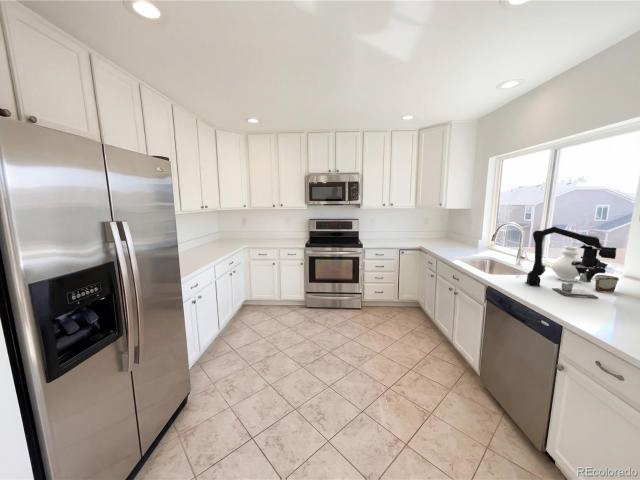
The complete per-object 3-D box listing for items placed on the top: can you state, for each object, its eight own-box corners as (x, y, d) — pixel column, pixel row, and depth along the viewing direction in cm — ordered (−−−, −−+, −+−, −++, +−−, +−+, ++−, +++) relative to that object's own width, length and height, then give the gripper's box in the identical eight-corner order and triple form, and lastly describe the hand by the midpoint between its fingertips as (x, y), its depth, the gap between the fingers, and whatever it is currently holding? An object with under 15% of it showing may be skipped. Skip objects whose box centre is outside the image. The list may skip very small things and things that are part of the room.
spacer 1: (565, 291, 157) (567, 284, 156) (558, 288, 161) (560, 281, 160) (573, 292, 156) (575, 284, 155) (566, 288, 161) (568, 281, 160)
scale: (564, 296, 154) (564, 294, 154) (552, 289, 166) (552, 287, 166) (598, 298, 150) (598, 297, 150) (583, 291, 161) (583, 290, 161)
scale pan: (565, 293, 155) (565, 292, 155) (555, 288, 164) (555, 287, 164) (594, 296, 152) (594, 294, 151) (583, 290, 160) (583, 289, 160)
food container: (606, 288, 166) (609, 274, 164) (616, 292, 160) (619, 277, 158) (586, 288, 167) (589, 274, 166) (595, 291, 161) (598, 277, 160)
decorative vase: (543, 275, 195) (548, 245, 191) (564, 274, 196) (569, 244, 192) (566, 283, 178) (572, 249, 174) (589, 282, 179) (595, 249, 175)
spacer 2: (583, 282, 154) (584, 274, 153) (577, 279, 158) (578, 272, 158) (592, 283, 152) (594, 275, 152) (586, 280, 157) (588, 273, 156)
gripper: (619, 260, 142) (614, 286, 144) (593, 253, 159) (589, 276, 162) (595, 259, 145) (590, 284, 147) (572, 252, 162) (568, 275, 165)
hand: (585, 279), depth 155 cm, fingers closed on spacer 2, 5 cm apart
